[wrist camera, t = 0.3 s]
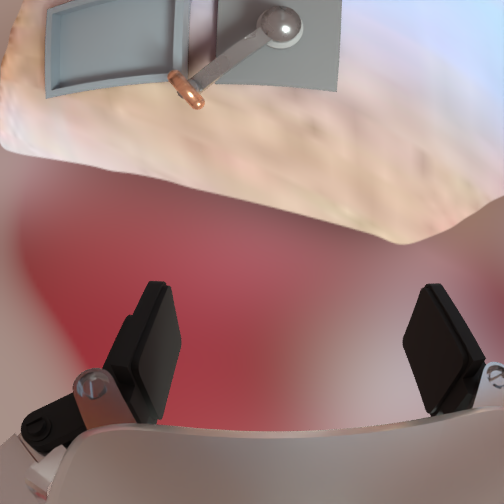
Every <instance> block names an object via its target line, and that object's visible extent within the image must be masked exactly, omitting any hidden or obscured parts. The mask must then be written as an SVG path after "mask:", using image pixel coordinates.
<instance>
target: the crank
mask: <svg viewBox="0 0 504 504" xmlns="http://www.w3.org/2000/svg"><path fill="white" fill-rule="evenodd" d="M300 29H301V19H300V17H299V15H298V14H297V13H296V12H295V11H294V10H293V9H291V8H289V7H286V6H275V7H272V8H270V9H268V10H267V11H266V12H265V13H264V14H263V16H262V18H261V27H259V28H258V29H256V30H255V31H253V32H252V33H250V34H249V35H247V36H246V37H245V38H243V39H242V40H240V41H239V42H237V43H236V44H235V45H233V46H232V47H231V48H229V49H228V50H226V51H225V52H224V53H222V54H221V55H220V56H218V57H217V58H216V59H215V60H213V61H212V62H211V63H209V64H208V65H207V66H206V67H204V68H203V69H202V70H201V71H199V72H198V73H197V74H196V75H194V76H193V77H192V78H191V79H190V80H187V79H186V78H185V77H184V76H183V75H182V74H181V72H180V71H178V70H172V71H170V72H169V73H168V75H167V79H168V81H169V82H170V83H171V84H172V85H173V86H174V88H175V89H176V90H177V93H178V95H179V96H180V97H181V98H183V99H185V100H186V101H187V102H188V104H189V105H190V106H191V107H192V108H193V109H196V110H198V109H201V108H202V107H203V106H204V104H205V101H204V99H203V97H202V96H201V95H200V94H201V93H202V92H203V91H204V90H206V89H207V88H208V87H209V86H211V85H212V84H213V83H214V82H216V81H217V80H218V79H220V78H221V77H222V76H223V75H225V74H226V73H227V72H229V71H230V70H231V69H233V68H234V67H235V66H237V65H238V64H240V63H241V62H242V61H244V60H245V59H247V58H248V57H249V56H251V55H252V54H254V53H255V52H256V51H258V50H259V49H261V48H262V47H264V46H265V45H267V44H268V43H270V42H271V41H273V42H276V43H286V42H289V41H291V40H293V39H294V38H295V37H296V36H297V34H298V33H299V31H300Z"/></svg>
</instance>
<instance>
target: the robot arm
mask: <svg viewBox="0 0 504 504" xmlns="http://www.w3.org/2000/svg"><path fill="white" fill-rule="evenodd" d="M403 348H404V350H405V353H406V355H407V358H408V361H409V363H410V366H411V369H412V371H413V374H414V377H415V380H416V383H417V386H418V388H419V391H420V394H421V397H422V400H423V403H424V406H425V409H426V412H427V413H430V415H431V417H428V418H422V419H417V420H411V421H405V422H399V423H392V424H385V425H376V426H367V427H358V428H347V429H334V430H320V431H319V430H318V431H292V432H291V431H290V432H289V431H288V432H260V431H259V432H258V431H230V430H215V429H199V428H187V427H178V426H167V425H156V423H157V419H159V420H160V419H162V417H163V414H164V410H165V406H166V402H167V398H168V394H169V390H170V386H171V382H172V379H173V375H174V371H175V367H176V363H177V360H178V356H179V352H180V349H181V335H180V330H179V326H178V321H177V316H176V311H175V306H174V301H173V295H172V290H171V287H170V286H166V283H165V282H161V281H149V283H148V284H147V286H146V288H145V290H144V292H143V294H142V296H141V298H140V300H139V303H138V305H137V307H136V309H135V311H134V313H133V315H128V316H127V317H126V319H125V321H124V322H123V325H122V327H121V329H120V331H119V333H118V335H117V337H116V339H115V341H114V344H113V346H112V348H111V350H110V352H109V355H108V357H107V359H106V361H105V363H104V365H103V368H102V369H100V368H92V369H88V370H86V371H84V372H82V373H81V374H80V375H79V376H78V377H77V378H76V379H75V381H74V383H73V393H71V394H69V395H67V396H65V397H63V398H60V399H58V400H57V401H54V402H52V403H50V404H48V405H46V406H44V407H42V408H40V409H38V410H36V411H33V412H32V413H30V414H29V415H28V416H27V417H26V418H25V419H24V420H23V423H22V426H21V433H20V434H19V435H18V436H17V435H16V434H14V435H12V436H11V437H10V438H9V439H8V440H7V441H6V442H4V443H3V444H2V445H1V446H0V504H504V365H503V364H501V363H498V362H491V363H488V364H487V365H486V364H485V362H484V360H485V359H486V358H485V356H484V354H483V352H482V351H481V349H480V347H479V345H478V343H477V341H476V340H475V338H474V336H473V335H472V333H471V331H470V329H469V328H468V326H467V324H466V323H465V321H464V319H463V318H462V316H461V314H460V313H459V311H458V309H457V308H456V306H455V305H454V303H453V302H452V300H451V298H450V297H449V295H448V294H447V292H446V291H445V289H444V288H443V286H442V285H441V284H426V285H425V287H424V288H422V289H421V291H420V294H419V297H418V300H417V303H416V305H415V308H414V311H413V314H412V317H411V319H410V322H409V324H408V327H407V329H406V332H405V334H404V337H403ZM54 475H55V476H54ZM52 481H53V482H52ZM51 482H52V485H51V489H50V492H49V495H48V496H47V489H48V486H49V485H50V483H51Z"/></svg>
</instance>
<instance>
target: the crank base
mask: <svg viewBox="0 0 504 504" xmlns="http://www.w3.org/2000/svg"><path fill="white" fill-rule="evenodd" d="M275 6H286V7H289V8H291V9H293V10H294V11H295V12H296V13H297V14H298V15H299V17H300V19H301V29H300V31H299V33H298V34H297V36H296V37H295V38H294V39H293V40H291V41H289V42H286V43H276V42H273V41H271V42H270V43H268V44H267V45H265V46H264V47H262V48H261V49H259V50H258V51H256V52H255V53H254V54H252V55H251V56H249V57H248V58H247V59H245V60H244V61H242V62H241V63H240V64H238V65H237V66H235V67H234V68H233V69H231V70H230V71H229V72H227V73H226V74H225V75H223V76H222V77H221V78H220V79H218V80H217V81H216V82H215V84H246V85H268V86H284V87H296V88H306V89H316V90H324V91H332V92H337V81H338V67H339V52H340V34H341V10H342V0H218V20H217V42H216V58H217V57H218V56H220V55H221V54H222V53H224V52H225V51H226V50H228V49H229V48H231V47H232V46H233V45H235V44H236V43H237V42H239V41H240V40H242V39H243V38H245V37H246V36H247V35H249V34H250V33H252V32H253V31H255V30H256V29H258V28H259V27H261V18H262V16H263V14H264V13H265V12H266V11H267V10H268V9H270V8H272V7H275Z"/></svg>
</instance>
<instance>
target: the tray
mask: <svg viewBox="0 0 504 504" xmlns="http://www.w3.org/2000/svg"><path fill="white" fill-rule="evenodd" d="M190 1H191V0H74V1H71V2H68V3H65V4H62V5H59V6H56V7H53V8H50V9H47V20H46V37H45V91H46V99H47V98H51V97H56V96H61V95H66V94H71V93H77V92H82V91H88V90H95V89H101V88H108V87H116V86H124V85H133V84H143V83H155V82H169V81H168V79H167V75H168V73H169V72H170V71H172V70H178V71H180V72H181V74H182V75H183V76H184V77H185V78H186V79H187V80H188V42H189V19H190Z"/></svg>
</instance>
